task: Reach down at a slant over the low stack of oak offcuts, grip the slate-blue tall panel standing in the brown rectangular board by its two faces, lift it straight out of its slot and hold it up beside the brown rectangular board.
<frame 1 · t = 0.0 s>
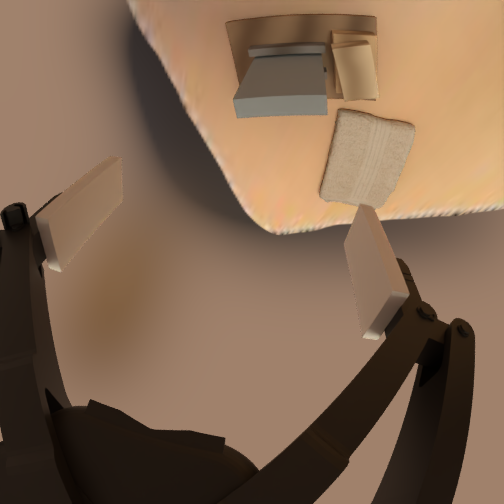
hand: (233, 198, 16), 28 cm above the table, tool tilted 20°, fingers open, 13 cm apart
tall panel: (289, 58, 31), point 1 cm above the table, touching brown rectangular board
washcloth: (362, 158, 44), on the table
offcut stack: (353, 58, 30), point 1 cm above the table, touching brown rectangular board
brown rectangular board: (289, 56, 32), on the table
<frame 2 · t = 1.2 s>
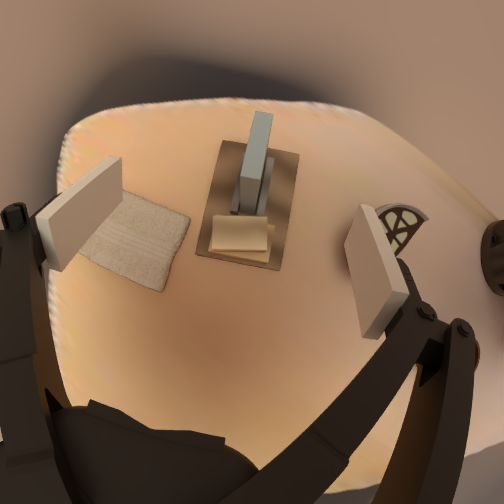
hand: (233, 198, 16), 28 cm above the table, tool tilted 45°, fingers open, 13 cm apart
tall panel: (252, 187, 43), point 1 cm above the table, touching brown rectangular board
food container: (361, 242, 44), on the table
washcloth: (128, 234, 44), on the table
offcut stack: (241, 241, 42), point 1 cm above the table, touching brown rectangular board
brown rectangular board: (252, 190, 44), on the table
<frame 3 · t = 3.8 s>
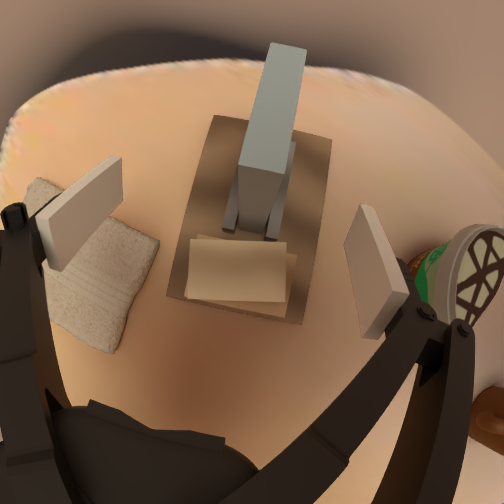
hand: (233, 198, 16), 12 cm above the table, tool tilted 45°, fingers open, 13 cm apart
mug: (474, 409, 26), on the table
tall panel: (259, 189, 27), point 1 cm above the table, touching brown rectangular board
food container: (418, 275, 28), on the table
washcloth: (72, 258, 27), on the table
offcut stack: (240, 277, 26), point 1 cm above the table, touching brown rectangular board
brown rectangular board: (258, 192, 28), on the table
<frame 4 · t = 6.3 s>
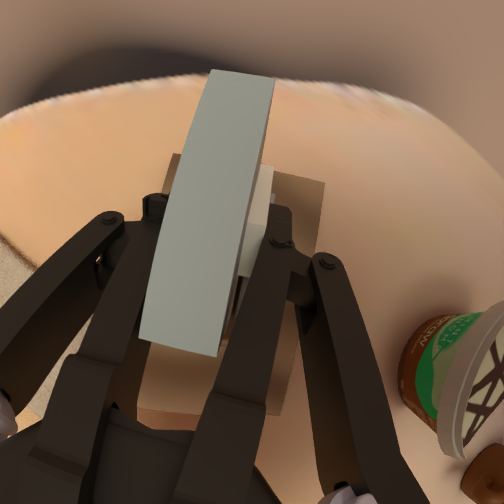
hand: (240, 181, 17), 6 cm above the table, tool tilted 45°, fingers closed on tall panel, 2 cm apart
mug: (471, 468, 20), on the table
tall panel: (228, 256, 21), point 1 cm above the table, touching gripper, brown rectangular board
food container: (423, 346, 22), on the table
washcloth: (27, 325, 21), on the table
offcut stack: (206, 365, 20), point 1 cm above the table, touching brown rectangular board
brown rectangular board: (228, 257, 22), on the table
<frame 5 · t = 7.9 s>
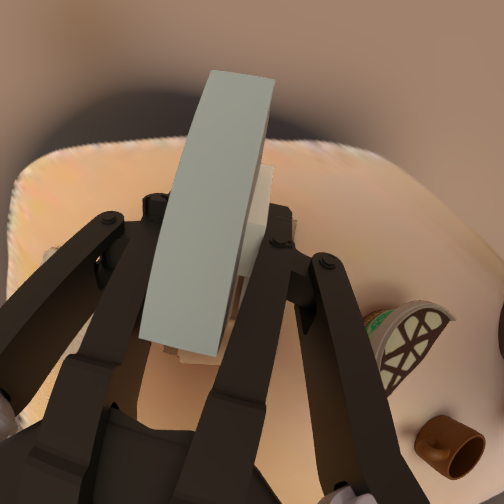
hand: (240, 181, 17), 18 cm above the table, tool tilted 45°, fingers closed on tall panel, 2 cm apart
mug: (422, 434, 33), on the table
tall panel: (228, 256, 21), point 14 cm above the table, touching gripper
food container: (368, 331, 35), on the table
washcloth: (85, 317, 34), on the table
offcut stack: (219, 338, 33), point 1 cm above the table, touching brown rectangular board
brown rectangular board: (233, 269, 35), on the table
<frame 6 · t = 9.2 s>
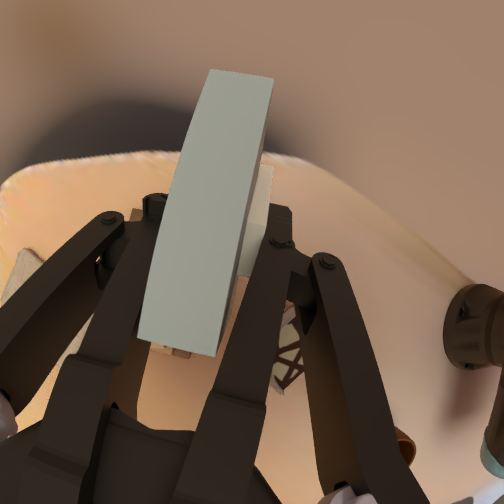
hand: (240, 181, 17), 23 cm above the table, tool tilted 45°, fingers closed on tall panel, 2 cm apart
mug: (355, 432, 38), on the table
tall panel: (228, 256, 21), point 19 cm above the table, touching gripper
food container: (287, 326, 40), on the table
washcloth: (49, 306, 38), on the table
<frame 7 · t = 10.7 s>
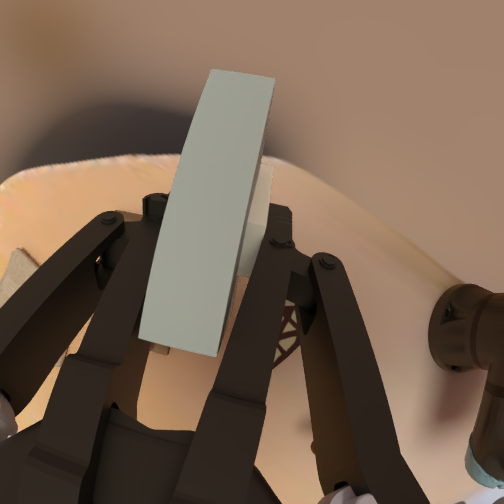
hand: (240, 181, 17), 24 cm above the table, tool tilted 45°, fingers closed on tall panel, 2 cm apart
tall panel: (228, 256, 21), point 19 cm above the table, touching gripper
food container: (263, 325, 40), on the table
washcloth: (40, 304, 39), on the table
brown rectangular board: (142, 267, 40), on the table
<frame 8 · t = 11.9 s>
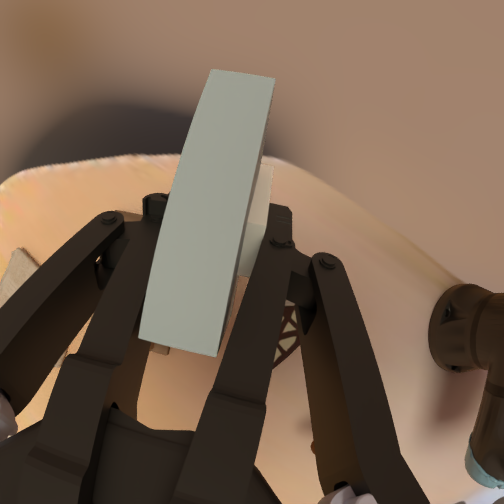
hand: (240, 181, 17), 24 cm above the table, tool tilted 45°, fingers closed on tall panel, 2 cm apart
tall panel: (228, 256, 21), point 19 cm above the table, touching gripper
food container: (263, 325, 40), on the table
washcloth: (39, 304, 39), on the table
brown rectangular board: (142, 267, 40), on the table
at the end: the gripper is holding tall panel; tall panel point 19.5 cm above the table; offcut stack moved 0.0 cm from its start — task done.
